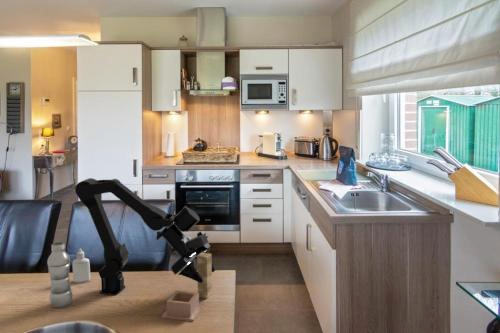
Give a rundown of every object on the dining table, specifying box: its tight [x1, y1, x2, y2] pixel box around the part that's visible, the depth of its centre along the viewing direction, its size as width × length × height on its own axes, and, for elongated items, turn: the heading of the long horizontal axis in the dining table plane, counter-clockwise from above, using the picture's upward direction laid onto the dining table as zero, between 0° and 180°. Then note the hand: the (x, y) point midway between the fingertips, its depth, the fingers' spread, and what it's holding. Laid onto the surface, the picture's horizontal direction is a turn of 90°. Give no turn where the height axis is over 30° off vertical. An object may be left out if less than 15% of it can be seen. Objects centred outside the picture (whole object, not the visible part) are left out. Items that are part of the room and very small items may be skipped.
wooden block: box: [196, 252, 213, 299], centre depth 135 cm, size 4×4×14 cm
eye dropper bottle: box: [72, 248, 91, 284], centre depth 147 cm, size 4×6×12 cm
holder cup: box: [160, 290, 205, 322], centre depth 125 cm, size 10×10×5 cm
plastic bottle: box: [46, 241, 74, 308], centre depth 128 cm, size 6×7×20 cm
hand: (208, 276), depth 135 cm, fingers open, 9 cm apart
